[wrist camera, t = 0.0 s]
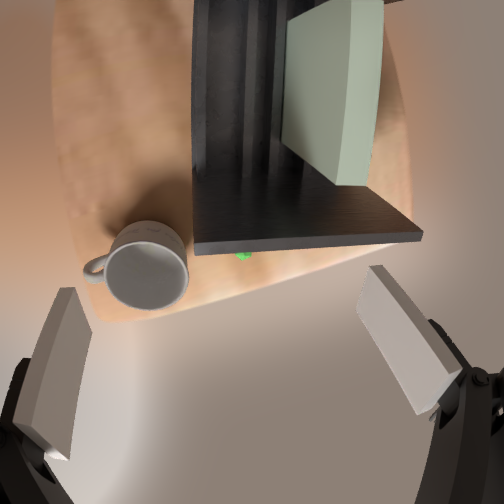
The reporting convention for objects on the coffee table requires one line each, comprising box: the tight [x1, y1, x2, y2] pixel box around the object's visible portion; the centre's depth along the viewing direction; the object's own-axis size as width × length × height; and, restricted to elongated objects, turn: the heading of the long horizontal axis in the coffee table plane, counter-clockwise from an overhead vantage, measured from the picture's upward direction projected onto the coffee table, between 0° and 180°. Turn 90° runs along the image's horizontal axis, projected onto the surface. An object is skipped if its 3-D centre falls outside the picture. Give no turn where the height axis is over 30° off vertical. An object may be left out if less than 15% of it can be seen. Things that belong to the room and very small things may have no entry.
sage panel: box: [279, 0, 384, 186], centre depth 25 cm, size 14×2×18 cm, turn 178°
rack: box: [191, 0, 423, 256], centre depth 25 cm, size 24×20×20 cm
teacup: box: [83, 220, 189, 311], centre depth 38 cm, size 14×11×8 cm
